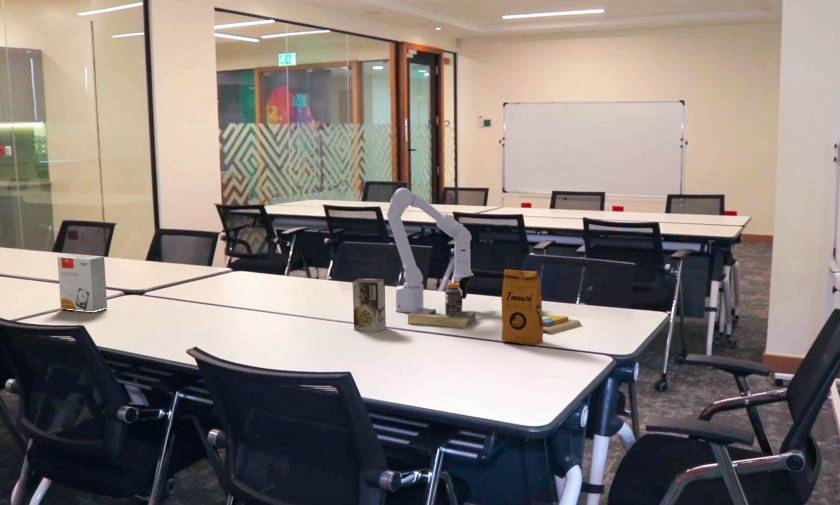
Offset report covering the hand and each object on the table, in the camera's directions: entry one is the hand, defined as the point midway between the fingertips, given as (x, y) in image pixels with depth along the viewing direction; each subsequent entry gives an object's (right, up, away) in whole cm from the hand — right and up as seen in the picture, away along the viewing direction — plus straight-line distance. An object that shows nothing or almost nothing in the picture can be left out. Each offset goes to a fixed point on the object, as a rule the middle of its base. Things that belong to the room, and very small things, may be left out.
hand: (462, 298), depth 290 cm
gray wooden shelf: (-8, -7, -20) cm, 23 cm away
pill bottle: (-4, -6, -8) cm, 11 cm away
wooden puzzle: (+25, -8, -26) cm, 37 cm away
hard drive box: (-139, -5, +5) cm, 139 cm away
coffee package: (+15, -11, -48) cm, 51 cm away
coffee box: (-32, -9, -28) cm, 43 cm away
